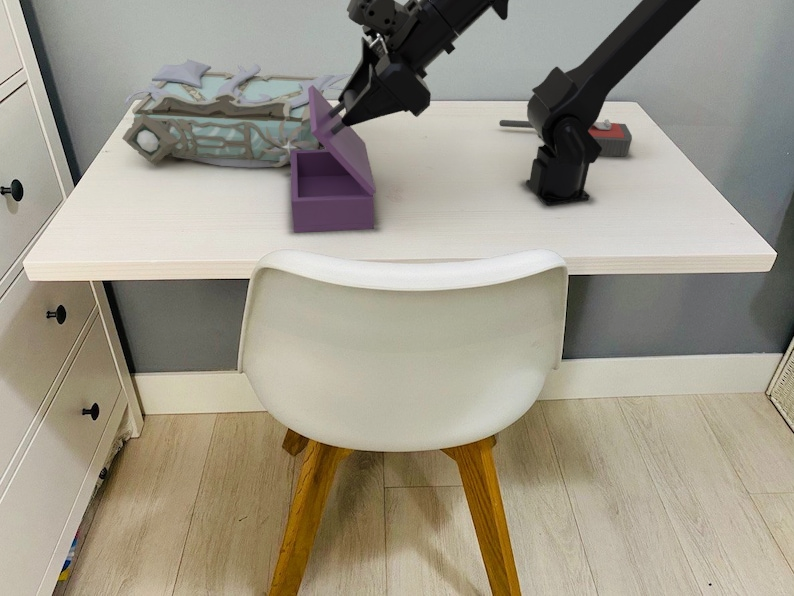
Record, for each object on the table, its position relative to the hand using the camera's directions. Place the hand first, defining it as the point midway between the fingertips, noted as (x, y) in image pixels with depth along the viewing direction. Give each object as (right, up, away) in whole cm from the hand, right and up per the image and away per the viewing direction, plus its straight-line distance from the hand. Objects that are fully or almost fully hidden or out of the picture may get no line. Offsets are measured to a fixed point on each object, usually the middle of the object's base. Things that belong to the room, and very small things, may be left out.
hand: (342, 112), depth 78 cm
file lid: (-1, -3, +2) cm, 3 cm away
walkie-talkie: (+32, +2, +24) cm, 40 cm away
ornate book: (-16, +2, +21) cm, 27 cm away
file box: (-2, -10, +7) cm, 12 cm away
